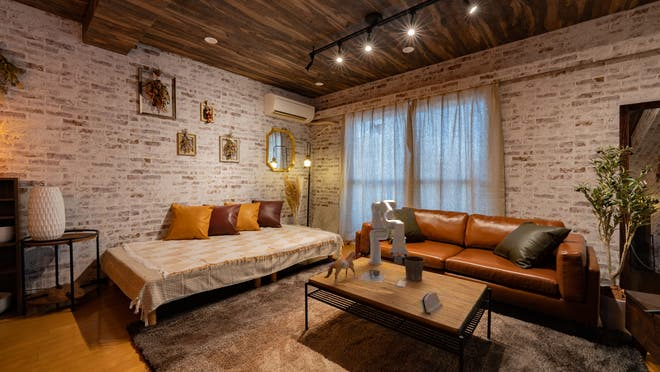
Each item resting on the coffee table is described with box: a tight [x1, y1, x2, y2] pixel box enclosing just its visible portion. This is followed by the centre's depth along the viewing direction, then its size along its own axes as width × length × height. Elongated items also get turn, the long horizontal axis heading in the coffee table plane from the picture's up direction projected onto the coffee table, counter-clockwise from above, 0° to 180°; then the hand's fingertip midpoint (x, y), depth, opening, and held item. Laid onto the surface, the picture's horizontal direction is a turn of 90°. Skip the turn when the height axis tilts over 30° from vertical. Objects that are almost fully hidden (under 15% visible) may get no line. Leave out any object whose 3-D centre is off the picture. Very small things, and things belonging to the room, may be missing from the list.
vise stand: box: [357, 269, 386, 284], centre depth 216 cm, size 18×18×6 cm
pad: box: [394, 279, 408, 289], centre depth 207 cm, size 11×11×1 cm
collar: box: [393, 254, 404, 265], centre depth 206 cm, size 6×6×5 cm
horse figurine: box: [323, 251, 357, 286], centre depth 211 cm, size 31×8×21 cm, turn 126°
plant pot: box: [403, 255, 425, 282], centre depth 217 cm, size 16×16×16 cm
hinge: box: [420, 292, 443, 316], centre depth 168 cm, size 17×5×10 cm, turn 134°
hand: (398, 261), depth 206 cm, fingers closed on collar, 6 cm apart
